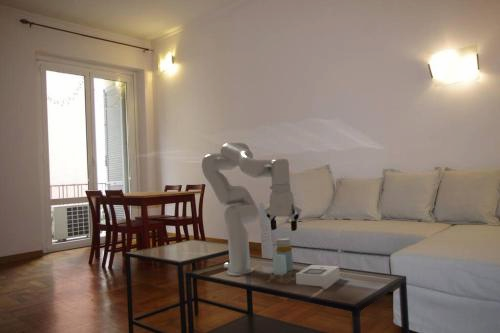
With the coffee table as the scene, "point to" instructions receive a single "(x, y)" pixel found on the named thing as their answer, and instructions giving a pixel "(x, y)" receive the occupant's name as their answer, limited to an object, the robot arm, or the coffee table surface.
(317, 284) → the panel
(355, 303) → the coffee table surface
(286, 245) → the bottle
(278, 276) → the square wooden tray
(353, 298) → the coffee table surface
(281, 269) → the plug
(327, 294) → the coffee table surface
